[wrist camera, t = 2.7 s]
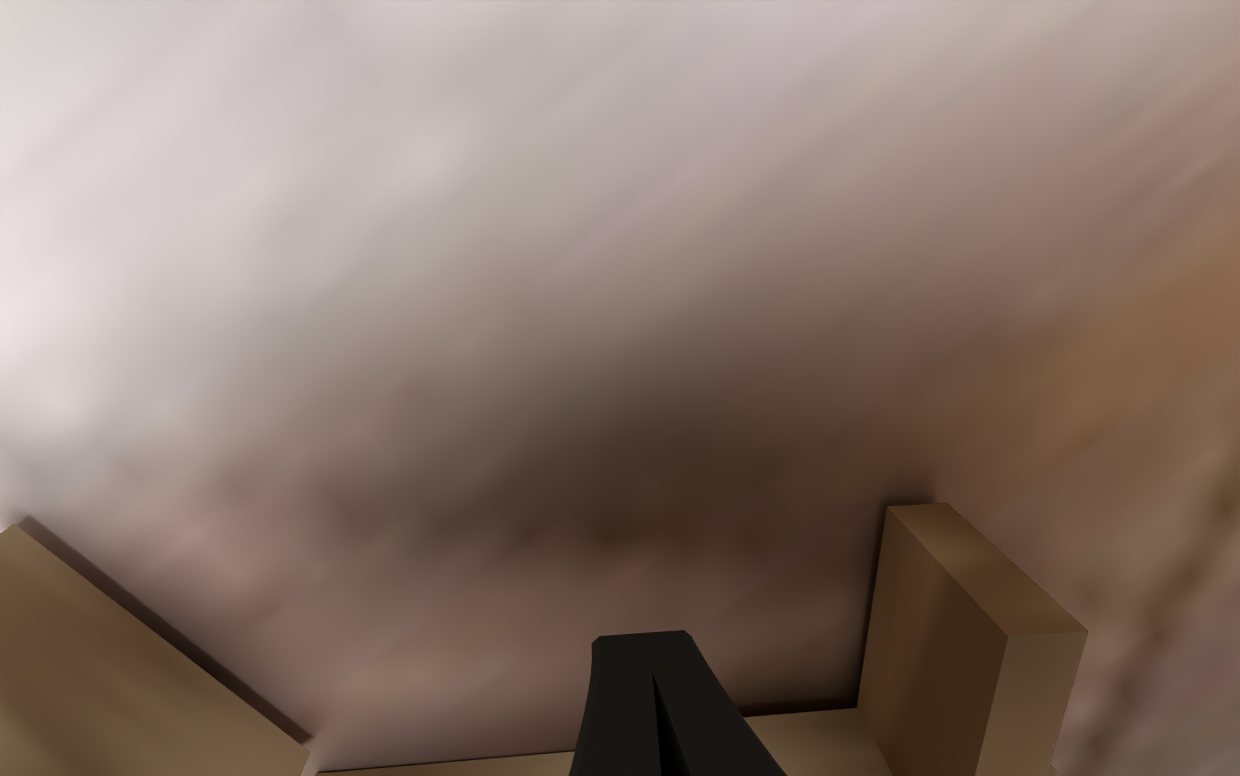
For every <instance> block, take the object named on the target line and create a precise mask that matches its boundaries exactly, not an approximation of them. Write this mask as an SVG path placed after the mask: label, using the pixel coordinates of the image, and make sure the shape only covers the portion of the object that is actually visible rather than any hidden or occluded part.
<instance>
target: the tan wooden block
mask: <svg viewBox="0 0 1240 776" xmlns="http://www.w3.org/2000/svg"><path fill="white" fill-rule="evenodd" d="M309 754H310V752H309V751H308V750H307V749H305V748H304V747H303V746H302V745H300V744H299V743H298V742H296V741H295V740H294V739H292V738H291V737H290V736H289V735H287V734H286V733H285V732H283V731H282V730H281V729H279V728H278V727H277V726H276V725H274V724H273V723H272V722H270V721H269V720H268V719H267V718H265V717H264V716H263V715H261V714H260V713H259V712H257V711H256V710H255V709H254V708H252V707H251V706H250V705H248V704H247V703H246V702H244V701H243V700H242V699H241V698H239V697H238V696H237V695H235V694H234V693H233V692H232V691H230V690H229V689H228V688H226V687H225V686H224V685H222V684H221V683H220V682H219V681H217V680H216V679H215V678H213V677H212V676H211V675H209V674H208V673H207V672H206V671H204V670H203V669H202V668H200V667H199V666H198V665H197V664H195V663H194V662H193V661H191V660H190V659H189V658H187V657H186V656H185V655H184V654H182V653H181V652H180V651H178V650H177V649H176V648H174V647H173V646H172V645H171V644H169V643H168V642H167V641H165V640H164V639H163V638H162V637H160V636H159V635H158V634H156V633H155V632H154V631H152V630H151V629H150V628H149V627H147V626H146V625H145V624H143V623H142V622H141V621H139V620H138V619H137V618H136V617H134V616H133V615H132V614H130V613H129V612H128V611H127V610H125V609H124V608H123V607H121V606H120V605H119V604H117V603H116V602H115V601H114V600H112V599H111V598H110V597H108V596H107V595H106V594H104V593H103V592H102V591H101V590H99V589H98V588H97V587H95V586H94V585H93V584H92V583H90V582H89V581H88V580H86V579H85V578H84V577H82V576H81V575H80V574H79V573H77V572H76V571H75V570H73V569H72V568H71V567H69V566H68V565H67V564H66V563H64V562H63V561H62V560H60V559H59V558H58V557H57V556H55V555H54V554H53V553H51V552H50V551H49V550H47V549H46V548H45V547H44V546H42V545H41V544H40V543H38V542H37V541H36V540H34V539H33V538H32V537H31V536H29V535H28V534H27V533H25V532H24V531H23V530H22V529H20V528H19V527H18V526H16V525H15V524H13V525H12V526H11V527H9V528H8V529H6V530H5V531H3V532H2V533H1V534H0V776H301V774H302V771H303V769H304V766H305V764H306V761H307V759H308V756H309Z"/></svg>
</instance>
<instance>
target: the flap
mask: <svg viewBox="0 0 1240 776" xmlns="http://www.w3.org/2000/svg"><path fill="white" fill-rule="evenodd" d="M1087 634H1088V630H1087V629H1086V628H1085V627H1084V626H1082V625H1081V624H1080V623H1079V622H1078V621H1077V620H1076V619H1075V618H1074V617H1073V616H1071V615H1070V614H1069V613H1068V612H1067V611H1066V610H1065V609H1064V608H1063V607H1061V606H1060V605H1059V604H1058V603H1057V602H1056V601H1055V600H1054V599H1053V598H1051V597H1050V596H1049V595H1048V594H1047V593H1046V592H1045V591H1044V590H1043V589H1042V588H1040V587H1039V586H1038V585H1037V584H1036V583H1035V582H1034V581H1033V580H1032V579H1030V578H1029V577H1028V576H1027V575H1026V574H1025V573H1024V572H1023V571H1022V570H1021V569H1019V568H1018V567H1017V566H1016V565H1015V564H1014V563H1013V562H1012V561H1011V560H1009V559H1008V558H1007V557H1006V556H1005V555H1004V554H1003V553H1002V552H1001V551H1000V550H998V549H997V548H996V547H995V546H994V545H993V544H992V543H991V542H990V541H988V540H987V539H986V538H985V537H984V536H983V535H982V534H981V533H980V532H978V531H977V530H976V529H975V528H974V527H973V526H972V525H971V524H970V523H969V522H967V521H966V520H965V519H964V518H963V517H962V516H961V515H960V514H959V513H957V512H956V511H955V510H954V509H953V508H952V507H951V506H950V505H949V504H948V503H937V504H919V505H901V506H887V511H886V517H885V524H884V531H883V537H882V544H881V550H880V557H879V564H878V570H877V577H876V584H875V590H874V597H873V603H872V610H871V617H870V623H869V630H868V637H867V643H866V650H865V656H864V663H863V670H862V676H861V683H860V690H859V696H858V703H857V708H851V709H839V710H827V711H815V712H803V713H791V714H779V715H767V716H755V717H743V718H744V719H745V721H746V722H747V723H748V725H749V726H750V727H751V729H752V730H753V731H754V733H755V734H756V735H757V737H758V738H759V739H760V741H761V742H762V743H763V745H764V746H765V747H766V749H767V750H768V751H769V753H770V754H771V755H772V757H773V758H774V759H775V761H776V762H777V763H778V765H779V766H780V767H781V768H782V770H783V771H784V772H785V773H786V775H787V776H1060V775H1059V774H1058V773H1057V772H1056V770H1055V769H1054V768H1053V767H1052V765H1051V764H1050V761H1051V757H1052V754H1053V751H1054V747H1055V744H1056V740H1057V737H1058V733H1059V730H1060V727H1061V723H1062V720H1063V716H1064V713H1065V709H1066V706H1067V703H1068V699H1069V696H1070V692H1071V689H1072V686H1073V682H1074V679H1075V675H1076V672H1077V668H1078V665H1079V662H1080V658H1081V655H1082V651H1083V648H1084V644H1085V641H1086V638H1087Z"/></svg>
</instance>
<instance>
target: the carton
mask: <svg viewBox="0 0 1240 776" xmlns="http://www.w3.org/2000/svg"><path fill="white" fill-rule="evenodd" d="M574 753H575V752H563V753H551V754H540V755H528V756H516V757H505V758H493V759H481V760H470V761H458V762H446V763H435V764H423V765H411V766H400V767H388V768H376V769H365V770H353V771H341V772H330V773H318V774H316V775H315V776H568V775H569V772H570V769H571V765H572V761H573V757H574Z"/></svg>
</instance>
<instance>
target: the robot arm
mask: <svg viewBox="0 0 1240 776" xmlns="http://www.w3.org/2000/svg"><path fill="white" fill-rule="evenodd" d="M568 776H787V775H786V773H785V772H784V771H783V770H782V768H781V767H780V766H779V765H778V763H777V762H776V761H775V759H774V758H773V757H772V755H771V754H770V753H769V751H768V750H767V749H766V747H765V746H764V745H763V743H762V742H761V741H760V739H759V738H758V737H757V735H756V734H755V733H754V731H753V730H752V729H751V727H750V726H749V725H748V723H747V722H746V721H745V719H744V718H743V716H742V715H741V713H740V712H739V711H738V709H737V708H736V706H735V705H734V704H733V702H732V701H731V699H730V698H729V696H728V695H727V693H726V692H725V690H724V689H723V687H722V686H721V684H720V683H719V681H718V680H717V678H716V677H715V675H714V673H713V672H712V670H711V669H710V667H709V666H708V664H707V662H706V661H705V659H704V657H703V656H702V654H701V652H700V651H699V649H698V647H697V646H696V644H695V642H694V640H693V638H692V637H691V636H690V635H689V634H688V633H687V632H686V631H685V630H679V631H665V632H651V633H637V634H623V635H610V636H599V637H598V638H597V639H596V640H595V641H594V642H593V643H592V666H591V677H590V684H589V691H588V696H587V702H586V707H585V712H584V717H583V721H582V725H581V729H580V733H579V737H578V741H577V745H576V749H575V753H574V757H573V761H572V765H571V769H570V772H569V775H568Z"/></svg>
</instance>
